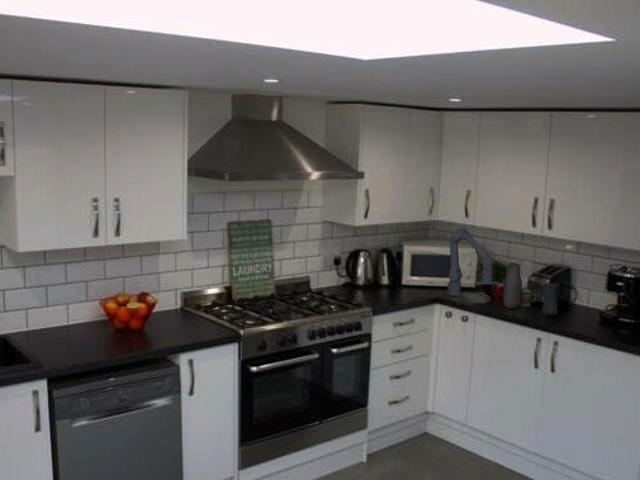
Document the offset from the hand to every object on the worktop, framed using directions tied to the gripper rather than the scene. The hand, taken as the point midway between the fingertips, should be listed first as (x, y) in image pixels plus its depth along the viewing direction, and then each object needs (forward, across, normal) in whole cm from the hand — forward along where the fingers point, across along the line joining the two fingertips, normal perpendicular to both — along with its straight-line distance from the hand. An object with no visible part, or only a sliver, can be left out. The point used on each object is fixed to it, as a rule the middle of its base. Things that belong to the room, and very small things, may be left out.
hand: (486, 296), depth 427 cm
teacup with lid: (+3, +19, -17) cm, 25 cm away
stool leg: (+2, -2, +1) cm, 3 cm away
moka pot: (+3, +25, -37) cm, 44 cm away
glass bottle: (+2, +6, -25) cm, 25 cm away
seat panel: (+2, -9, -2) cm, 10 cm away
